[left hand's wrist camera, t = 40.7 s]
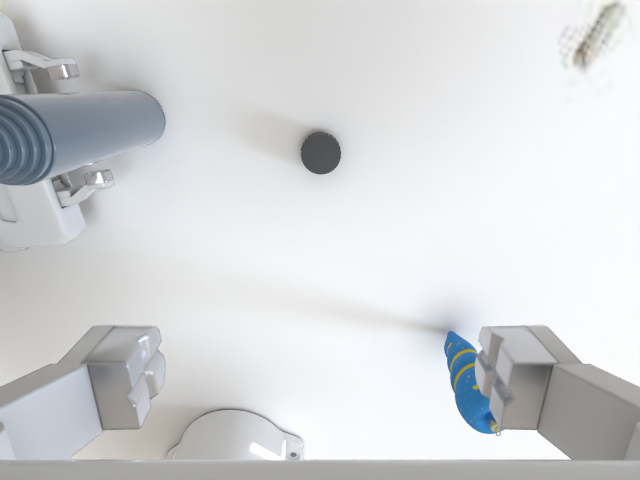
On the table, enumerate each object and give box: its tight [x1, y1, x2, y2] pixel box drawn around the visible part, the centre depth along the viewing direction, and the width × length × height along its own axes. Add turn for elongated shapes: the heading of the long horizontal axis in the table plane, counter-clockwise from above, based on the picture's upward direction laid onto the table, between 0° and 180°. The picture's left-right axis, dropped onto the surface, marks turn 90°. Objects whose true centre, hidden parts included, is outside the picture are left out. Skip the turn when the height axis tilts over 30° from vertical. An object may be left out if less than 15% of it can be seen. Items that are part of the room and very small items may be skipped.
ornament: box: [444, 331, 504, 436], centre depth 43 cm, size 5×5×15 cm
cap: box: [301, 132, 341, 174], centre depth 41 cm, size 4×4×2 cm
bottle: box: [0, 91, 165, 186], centre depth 30 cm, size 5×5×23 cm
